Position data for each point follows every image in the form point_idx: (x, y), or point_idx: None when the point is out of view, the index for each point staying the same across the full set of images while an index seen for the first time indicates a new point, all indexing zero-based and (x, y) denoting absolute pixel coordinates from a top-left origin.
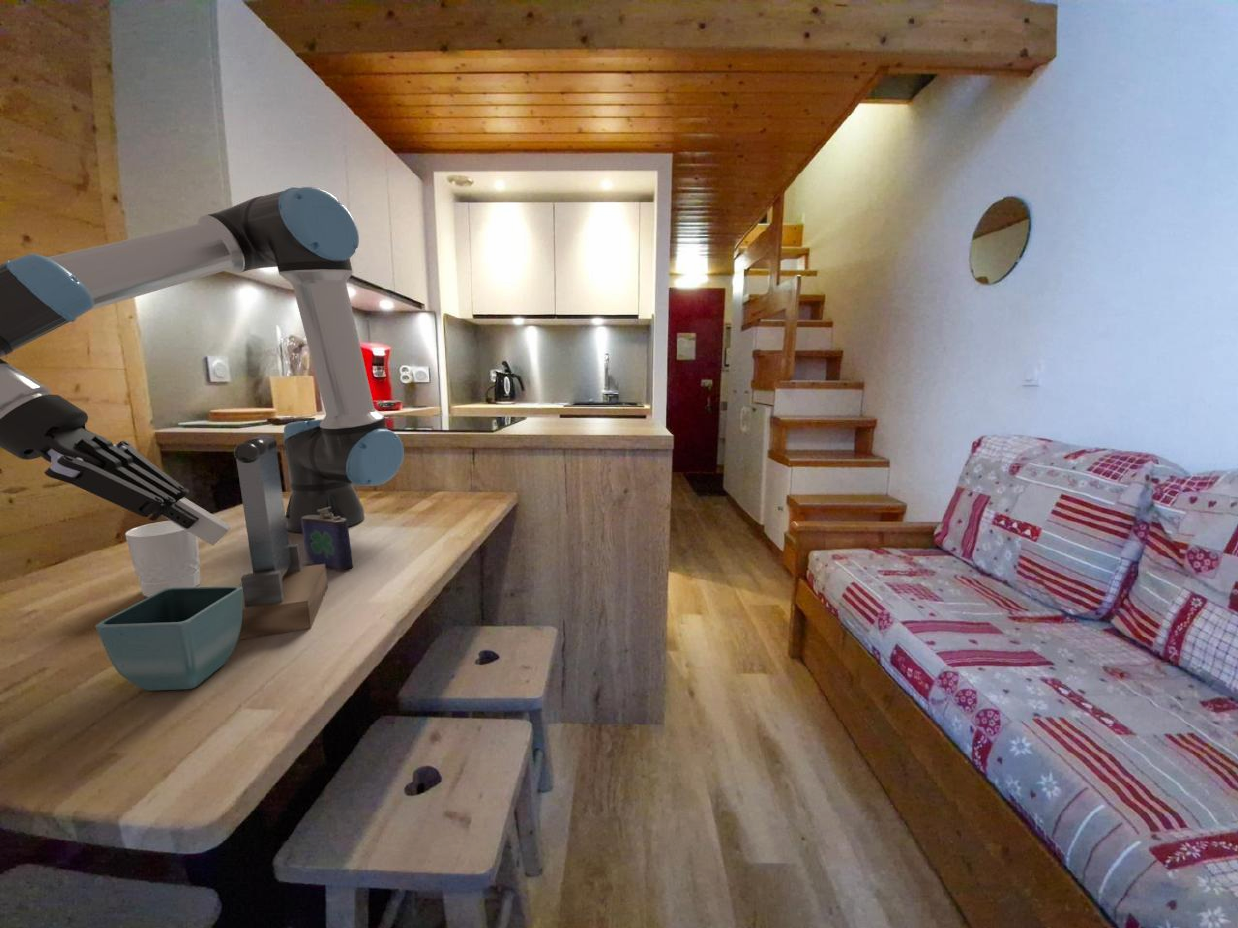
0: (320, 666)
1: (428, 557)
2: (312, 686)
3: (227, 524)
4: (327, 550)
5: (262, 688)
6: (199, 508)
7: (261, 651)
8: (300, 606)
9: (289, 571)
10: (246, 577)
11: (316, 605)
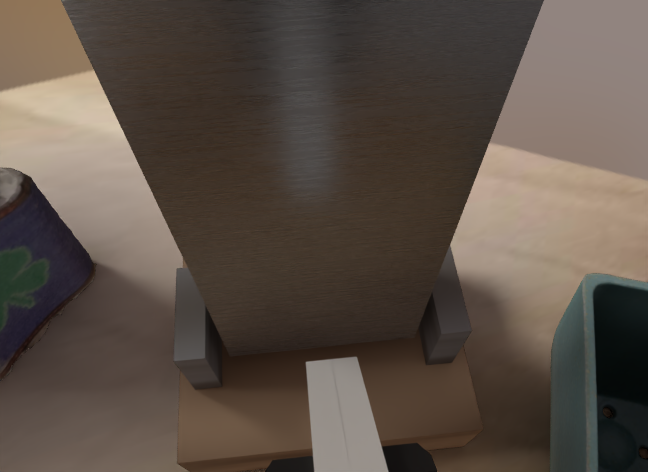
0: (576, 211)
1: (93, 104)
2: (637, 208)
3: (310, 372)
4: (25, 290)
5: None
6: (335, 452)
7: (512, 333)
8: None
9: None
10: (466, 317)
11: None
